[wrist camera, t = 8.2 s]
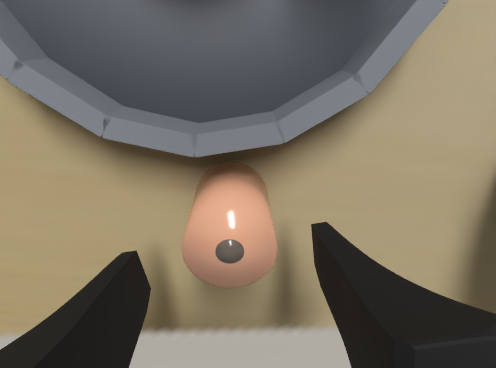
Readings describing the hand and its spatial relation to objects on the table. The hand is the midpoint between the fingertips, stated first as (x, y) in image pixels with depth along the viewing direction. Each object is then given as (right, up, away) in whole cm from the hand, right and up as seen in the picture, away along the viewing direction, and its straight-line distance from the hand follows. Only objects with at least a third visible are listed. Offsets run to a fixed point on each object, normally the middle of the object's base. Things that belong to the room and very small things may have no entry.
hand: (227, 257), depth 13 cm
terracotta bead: (0, +2, +5) cm, 5 cm away
